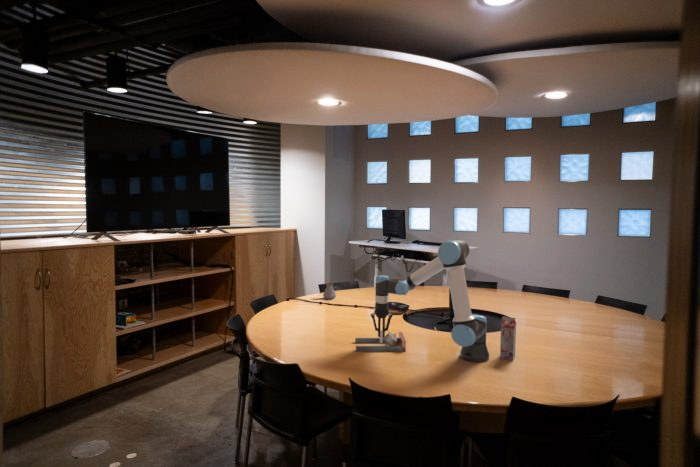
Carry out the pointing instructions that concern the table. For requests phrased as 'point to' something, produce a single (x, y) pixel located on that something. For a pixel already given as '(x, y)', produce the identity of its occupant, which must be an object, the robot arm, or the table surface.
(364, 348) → the guide channel
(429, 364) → the table surface
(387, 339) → the spiky grey ball
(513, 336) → the juice carton
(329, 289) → the coffee pot
